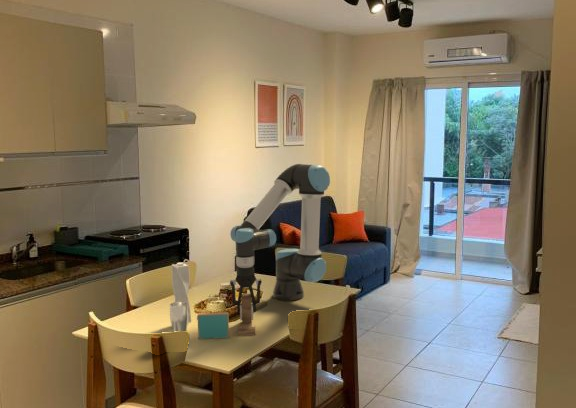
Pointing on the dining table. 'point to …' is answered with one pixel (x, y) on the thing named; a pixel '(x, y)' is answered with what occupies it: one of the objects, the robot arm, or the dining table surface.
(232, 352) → the dining table surface
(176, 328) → the beer glass
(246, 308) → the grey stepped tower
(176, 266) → the skyscraper
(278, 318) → the dining table surface
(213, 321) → the tile
